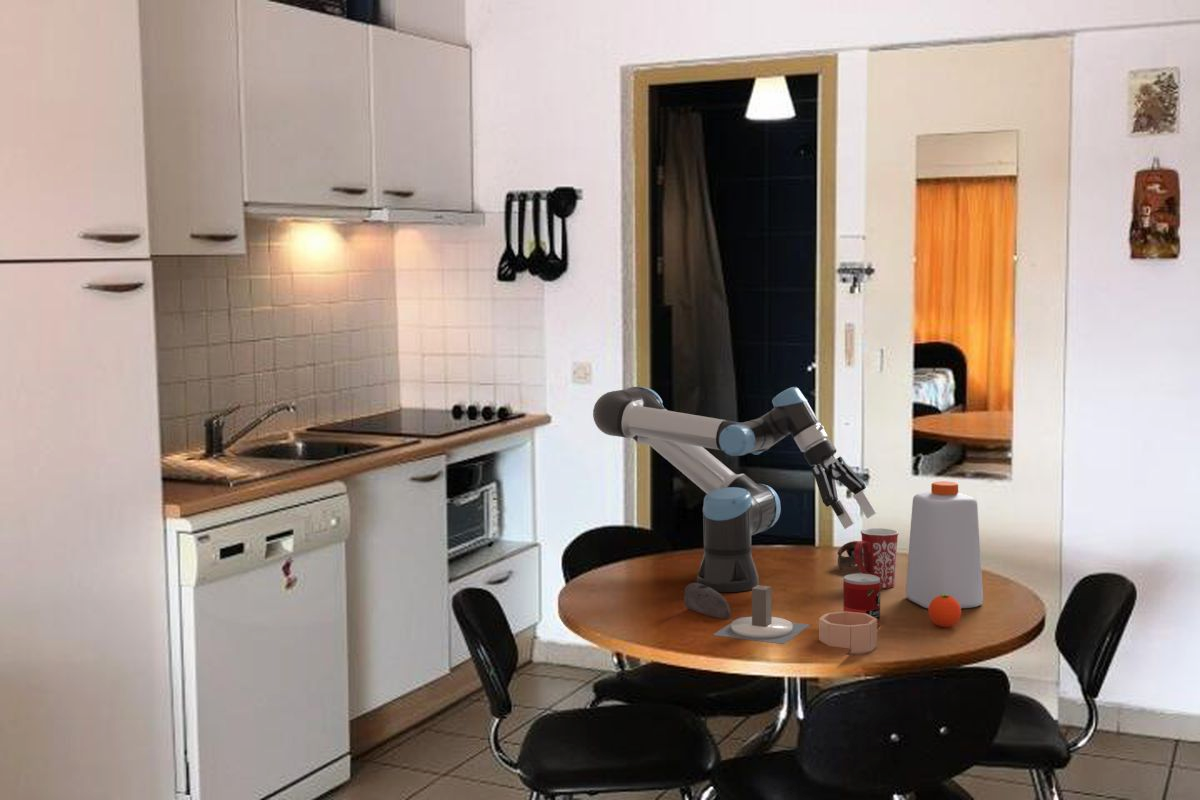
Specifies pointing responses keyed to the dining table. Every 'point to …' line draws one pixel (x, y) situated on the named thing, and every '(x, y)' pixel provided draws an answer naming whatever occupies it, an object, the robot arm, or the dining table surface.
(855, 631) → the pink faceted pot
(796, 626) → the plate
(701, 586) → the perforated stone tool
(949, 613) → the clementine
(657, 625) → the dining table surface
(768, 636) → the lid
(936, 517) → the plastic bottle
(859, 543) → the mug
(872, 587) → the canned food
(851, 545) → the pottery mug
